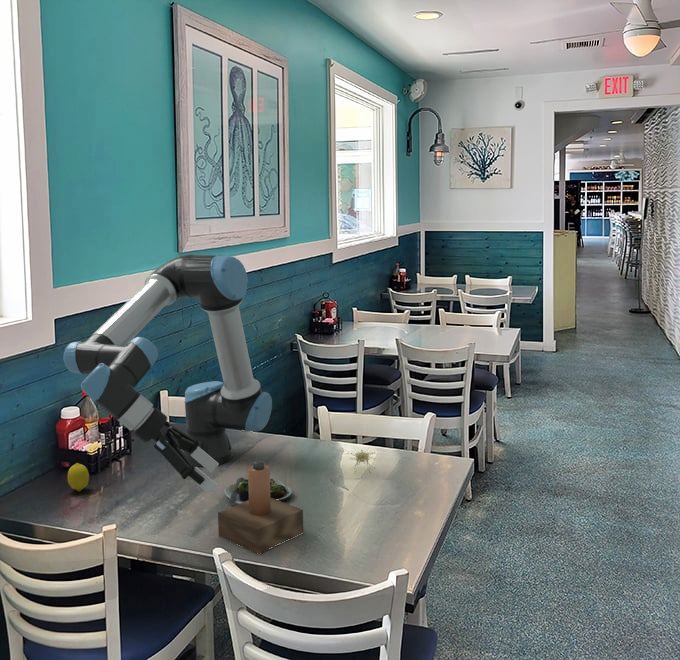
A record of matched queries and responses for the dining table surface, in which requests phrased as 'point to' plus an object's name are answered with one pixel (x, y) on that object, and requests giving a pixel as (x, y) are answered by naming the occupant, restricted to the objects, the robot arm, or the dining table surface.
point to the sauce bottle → (259, 488)
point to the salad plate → (241, 491)
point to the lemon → (78, 477)
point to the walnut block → (260, 525)
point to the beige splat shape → (361, 458)
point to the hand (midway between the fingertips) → (214, 478)
